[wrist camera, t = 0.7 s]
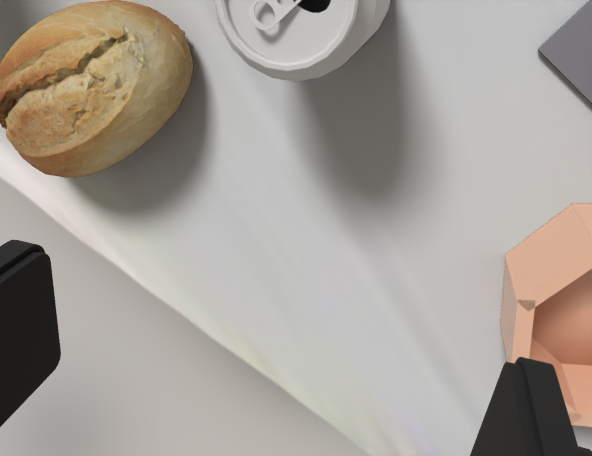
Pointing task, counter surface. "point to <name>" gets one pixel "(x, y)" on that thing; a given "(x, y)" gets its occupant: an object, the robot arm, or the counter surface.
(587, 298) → the bowl
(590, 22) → the mat
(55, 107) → the bread roll
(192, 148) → the counter surface
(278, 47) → the can
